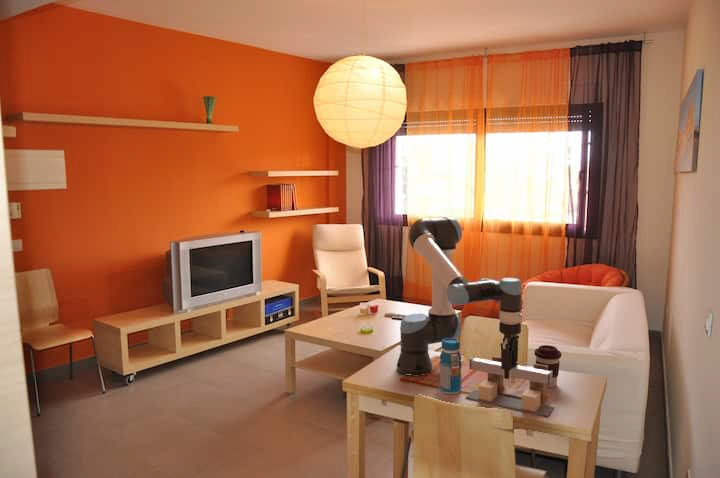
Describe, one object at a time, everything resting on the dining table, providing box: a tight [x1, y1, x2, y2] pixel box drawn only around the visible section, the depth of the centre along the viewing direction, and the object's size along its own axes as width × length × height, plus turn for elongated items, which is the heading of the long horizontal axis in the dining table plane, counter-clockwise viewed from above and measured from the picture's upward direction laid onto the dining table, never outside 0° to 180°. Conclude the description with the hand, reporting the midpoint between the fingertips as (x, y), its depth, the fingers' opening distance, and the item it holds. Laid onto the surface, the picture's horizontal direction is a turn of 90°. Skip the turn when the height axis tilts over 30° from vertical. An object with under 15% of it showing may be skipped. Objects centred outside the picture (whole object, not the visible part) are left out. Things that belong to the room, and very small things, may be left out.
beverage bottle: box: [438, 338, 463, 395], centre depth 212 cm, size 8×8×20 cm
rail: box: [469, 356, 553, 385], centre depth 199 cm, size 29×4×4 cm, turn 57°
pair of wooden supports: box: [487, 355, 549, 405], centre depth 208 cm, size 22×6×12 cm, turn 57°
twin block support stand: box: [465, 379, 555, 418], centre depth 201 cm, size 30×8×6 cm, turn 57°
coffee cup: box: [534, 344, 562, 389], centre depth 217 cm, size 10×10×15 cm
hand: (509, 384), depth 200 cm, fingers closed on rail, 3 cm apart
